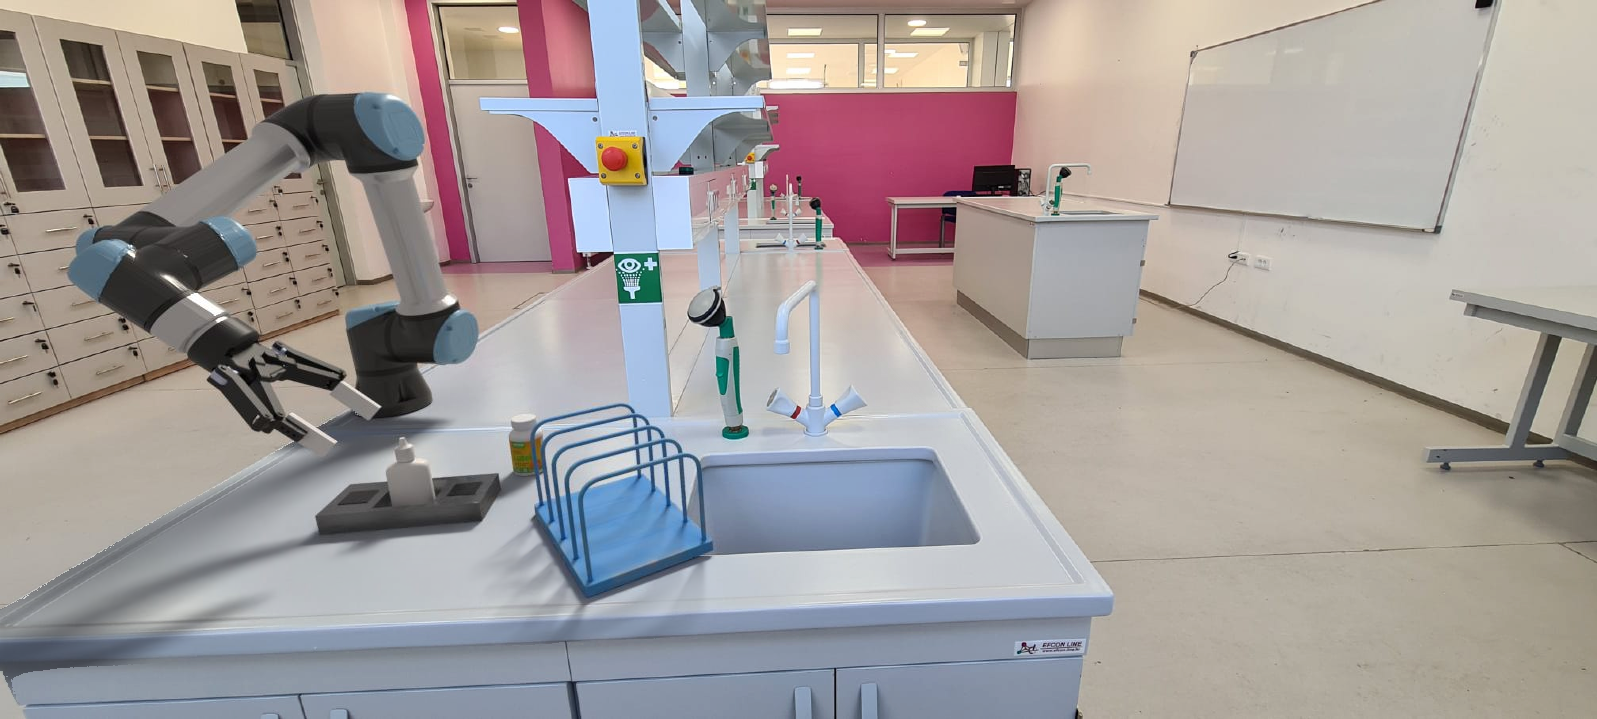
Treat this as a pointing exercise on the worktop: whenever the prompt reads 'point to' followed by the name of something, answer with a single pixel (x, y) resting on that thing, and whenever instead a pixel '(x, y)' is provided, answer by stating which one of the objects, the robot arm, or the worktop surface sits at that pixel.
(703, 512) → the file sorter
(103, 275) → the robot arm
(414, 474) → the eye dropper bottle
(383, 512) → the grey compartment tray
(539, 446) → the supplement bottle
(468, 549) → the worktop surface
